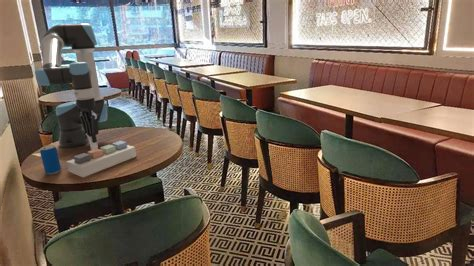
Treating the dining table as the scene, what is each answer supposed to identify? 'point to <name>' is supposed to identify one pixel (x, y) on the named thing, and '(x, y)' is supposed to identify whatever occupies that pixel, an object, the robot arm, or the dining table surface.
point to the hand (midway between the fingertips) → (94, 148)
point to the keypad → (101, 162)
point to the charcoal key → (82, 158)
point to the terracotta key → (95, 153)
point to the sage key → (108, 149)
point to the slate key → (120, 145)
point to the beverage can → (50, 159)
